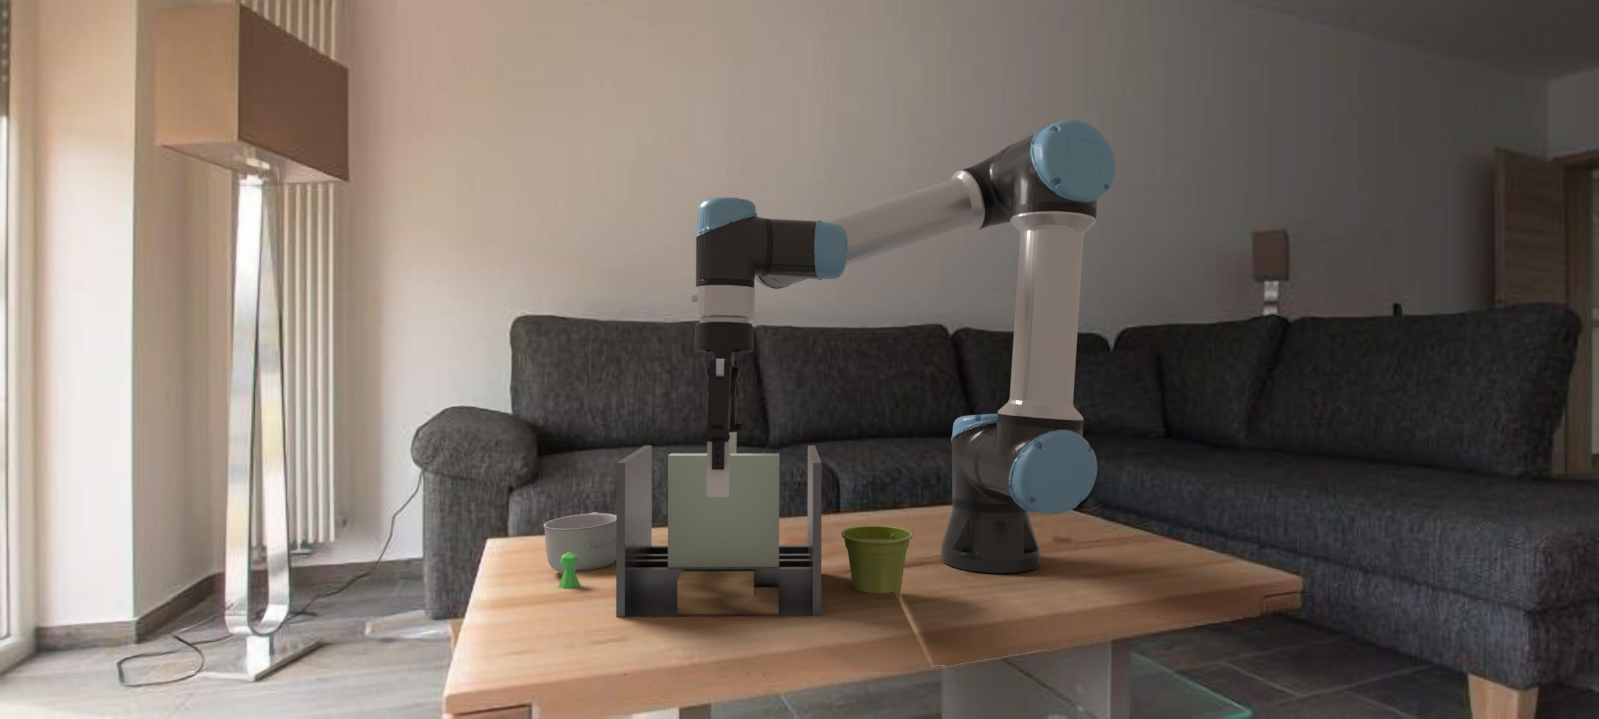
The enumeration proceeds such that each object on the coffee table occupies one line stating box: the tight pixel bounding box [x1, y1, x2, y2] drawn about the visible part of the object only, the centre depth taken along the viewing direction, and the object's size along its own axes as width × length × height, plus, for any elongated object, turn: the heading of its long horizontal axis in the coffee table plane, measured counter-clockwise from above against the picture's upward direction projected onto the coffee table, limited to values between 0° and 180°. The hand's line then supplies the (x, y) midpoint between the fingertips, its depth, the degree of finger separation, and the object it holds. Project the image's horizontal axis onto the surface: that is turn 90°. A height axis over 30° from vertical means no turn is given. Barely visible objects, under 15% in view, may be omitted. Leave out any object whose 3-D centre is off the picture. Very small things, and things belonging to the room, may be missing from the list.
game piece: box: [552, 552, 581, 595], centre depth 109 cm, size 4×4×6 cm
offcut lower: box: [677, 587, 779, 614], centre depth 99 cm, size 12×4×2 cm, turn 91°
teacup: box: [543, 511, 616, 576], centre depth 123 cm, size 14×11×8 cm
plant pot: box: [840, 525, 913, 600], centre depth 108 cm, size 9×9×9 cm
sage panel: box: [667, 452, 780, 567], centre depth 104 cm, size 14×2×18 cm, turn 91°
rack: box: [615, 445, 823, 618], centre depth 105 cm, size 24×20×20 cm
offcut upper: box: [677, 571, 755, 597], centre depth 99 cm, size 9×4×2 cm, turn 91°
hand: (722, 488), depth 104 cm, fingers open, 13 cm apart
